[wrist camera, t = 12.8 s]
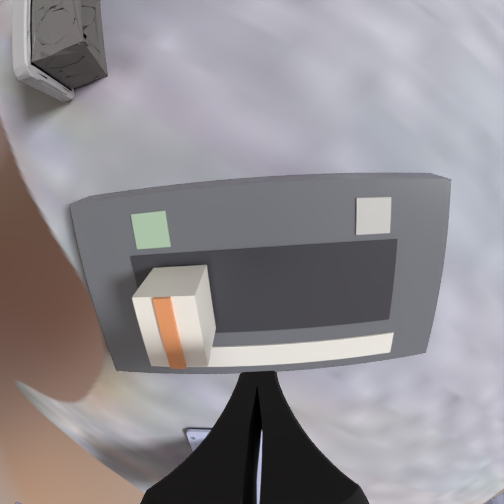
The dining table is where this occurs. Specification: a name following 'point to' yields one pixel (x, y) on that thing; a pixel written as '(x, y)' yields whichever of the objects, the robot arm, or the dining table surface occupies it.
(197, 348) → the block
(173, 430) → the dining table surface
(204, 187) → the panel
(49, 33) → the electrical switch
